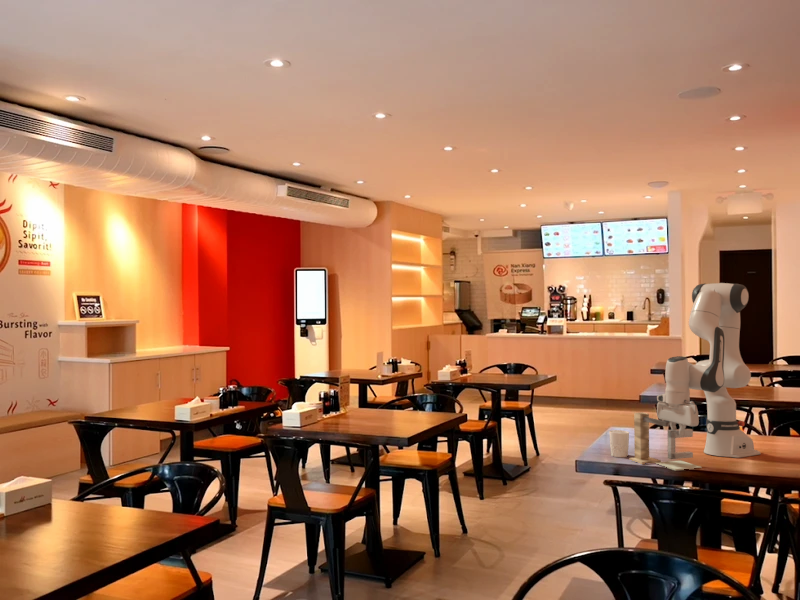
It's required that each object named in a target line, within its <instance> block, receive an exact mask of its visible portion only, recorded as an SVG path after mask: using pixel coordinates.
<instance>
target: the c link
mask: <svg viewBox="0 0 800 600" xmlns="http://www.w3.org/2000/svg"><path fill="white" fill-rule="evenodd" d="M679 429H680V428H678V430H679ZM693 431H694V429H692V428H685V430H684V435H682V436H680V435H678V431H677V430H672V429H667V459H670V460H676V459H679V460H680V459H692V458H694V452H693V451H689V450H688V451H676V439H679V438H680V439H681V438H693V437H694V433H693Z"/></svg>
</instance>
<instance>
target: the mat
mask: <svg viewBox="0 0 800 600" xmlns="http://www.w3.org/2000/svg"><path fill="white" fill-rule="evenodd" d="M656 464H659V465H662V466H665V467H664V468H666V467H667V468H666V469H668V470H672V471H676V472H677V471H685V470H684V469H689V470H695V469H694V468H701V469H703V467H702V466H701V465H697V464H693V463H690V462H686V461H684V460H669V461H661V462H656ZM656 464H655V465H656ZM659 465H658V466H659ZM662 466H661V467H662Z"/></svg>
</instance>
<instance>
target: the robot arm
mask: <svg viewBox="0 0 800 600" xmlns="http://www.w3.org/2000/svg"><path fill="white" fill-rule="evenodd" d="M749 297H750V296H749V290H748V288H747V287H746V286H745V285H744V284H739V283H728V282H726V283H725V282H718V283H717V282H715V283H701V284H697V285H696V286H695V287H694V288H693V289H692V293H691V300H692V303H693V305H692V307H691V311H690V314H689V319H688V327H689V329H690V331H691V333H693V335H695V336H697V337H698V338H700V339H703V340H704V341H707V342H708V343H709V359H704V360H700V361H697V362H696V363H695V364H692V363H691V362H690V361H689V360H688V358H687V357H685V356H672V357H669V358H668V359H666V363H665V370H664V371H665V374H664V379H665V380H664V381H665V384H666V385H665V389H664V391H665V392H664V393H662V394H659V395H657V396H656V400H657V404H656V413H657V414H656V415H657V418H658V420H662V421H666V422H669V427H670V430H677V431H678V435H680V436H682V435H684V430H685V429H687V426H688V427H697V426H698V425H699V423H700V421H699V420H700V417H699V411H698V407H697V404H695V402H694V401H693V400H691V401H690V399H691V398H690V397H691V396H690V393H691V391H690V390H697V391H703V393H704V396H705V399H706V410H707V412H706V413H707V416H706V417H707V418H706V419H705V421H706V437H705V440H706V441H705V444H704V445H705V446H704V450H703V453H704V454H706V455H712V456H717V457H727V458H729V457H730V458H745V457H746V458H747V457H751V456H757V455H761V451H759V450H757V449H755V446H754V444H755V443H754V441H753V439H752V438H751V437H750V436H749V435H748V434H746V433H745V432H744V431H743V430H742V429H740V427H744V426H745V421H743V420H742V421H741V420H739V421H738V420H737V403H736V400H735V399H734V398H733V397H732V396H731V395H730V394H729V392H728V389H738V388H740V389H741V388H745V387H747V386H748V385H749V383H750V381H751V376H752V373H751V370H750V368H749V366H747V365H746V364H745V362H744V360H743V358H742V355H741V351H740V331H741V311H742V310H743V309H744V308H745V307H747V304H748V302H749ZM727 388H728V389H727ZM677 424H678V426H679V428H678V429H679V430H678V429H677V426H676V425H677Z"/></svg>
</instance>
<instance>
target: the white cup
mask: <svg viewBox="0 0 800 600" xmlns="http://www.w3.org/2000/svg"><path fill="white" fill-rule="evenodd" d="M608 433H609V434H608V436H609V446H610V456H611V457H613V456H614V458H627V456H628V457H629V446H630V445H629V444H630V431H627V430H621V429H619V430H618V429H616V430H614V429H613V430H609V432H608Z"/></svg>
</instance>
